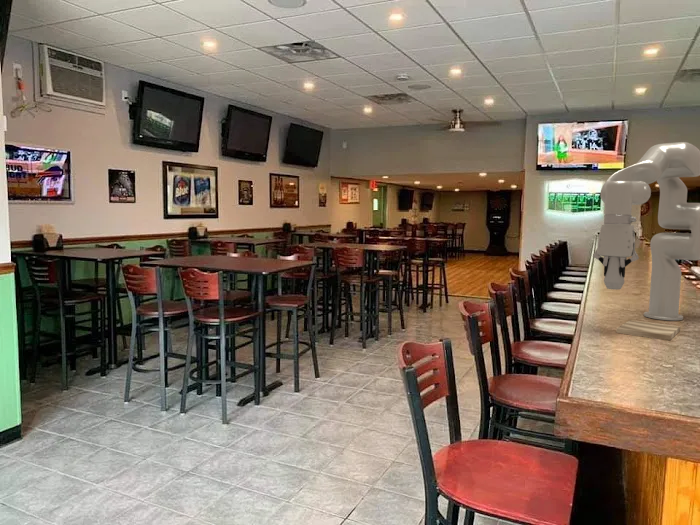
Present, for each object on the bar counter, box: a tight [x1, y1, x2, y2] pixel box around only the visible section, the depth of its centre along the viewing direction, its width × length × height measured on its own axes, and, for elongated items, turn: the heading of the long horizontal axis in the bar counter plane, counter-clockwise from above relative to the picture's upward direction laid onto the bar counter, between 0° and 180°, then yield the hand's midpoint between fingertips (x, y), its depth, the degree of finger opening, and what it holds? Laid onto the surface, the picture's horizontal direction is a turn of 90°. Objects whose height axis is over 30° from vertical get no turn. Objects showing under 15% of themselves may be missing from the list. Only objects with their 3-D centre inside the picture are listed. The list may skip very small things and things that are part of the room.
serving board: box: [616, 319, 681, 341], centre depth 172 cm, size 18×15×2 cm
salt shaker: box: [603, 257, 625, 291], centre depth 166 cm, size 6×6×13 cm
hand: (614, 278), depth 166 cm, fingers closed on salt shaker, 3 cm apart
